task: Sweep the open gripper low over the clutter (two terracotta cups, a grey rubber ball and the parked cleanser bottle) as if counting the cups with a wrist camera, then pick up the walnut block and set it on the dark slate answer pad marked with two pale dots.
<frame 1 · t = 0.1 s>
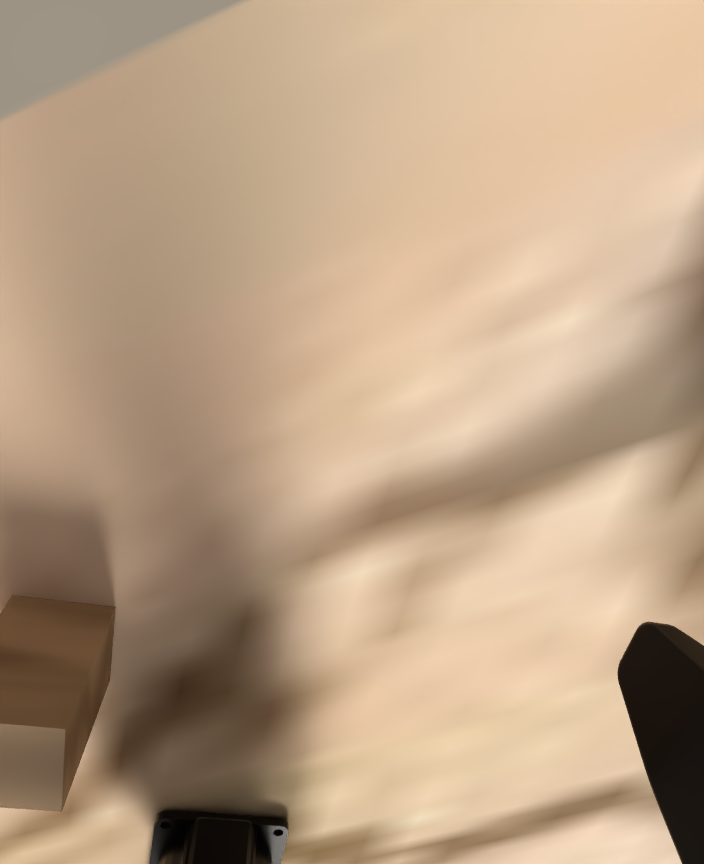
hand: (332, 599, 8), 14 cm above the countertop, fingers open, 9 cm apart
walnut block: (63, 639, 26), on the countertop
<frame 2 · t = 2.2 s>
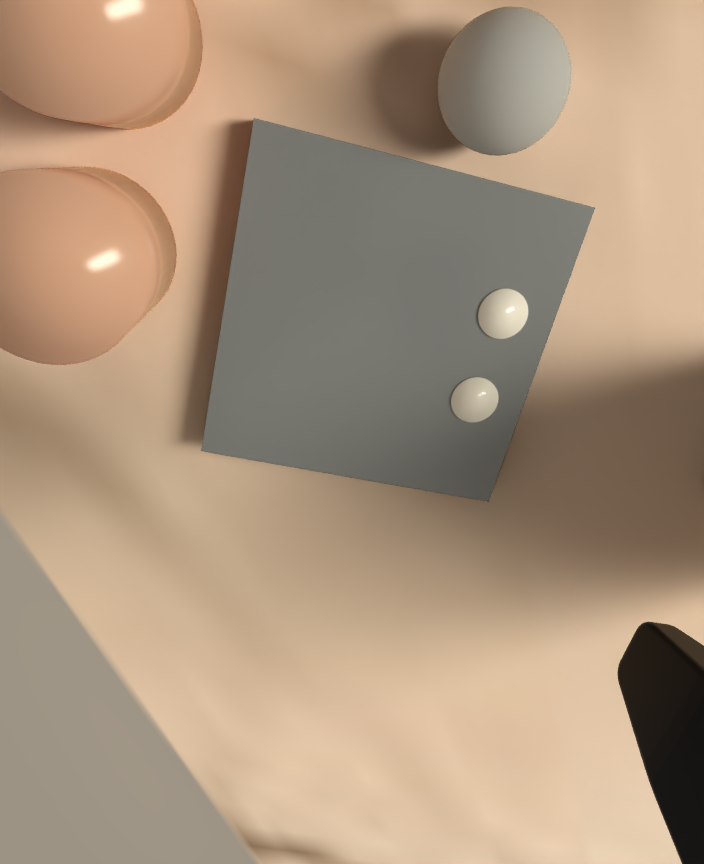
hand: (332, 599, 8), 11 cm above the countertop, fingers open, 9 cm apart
cup a: (117, 36, 15), on the countertop
grey ball: (485, 91, 16), on the countertop
answer pad: (383, 329, 18), on the countertop
cup b: (100, 248, 17), on the countertop
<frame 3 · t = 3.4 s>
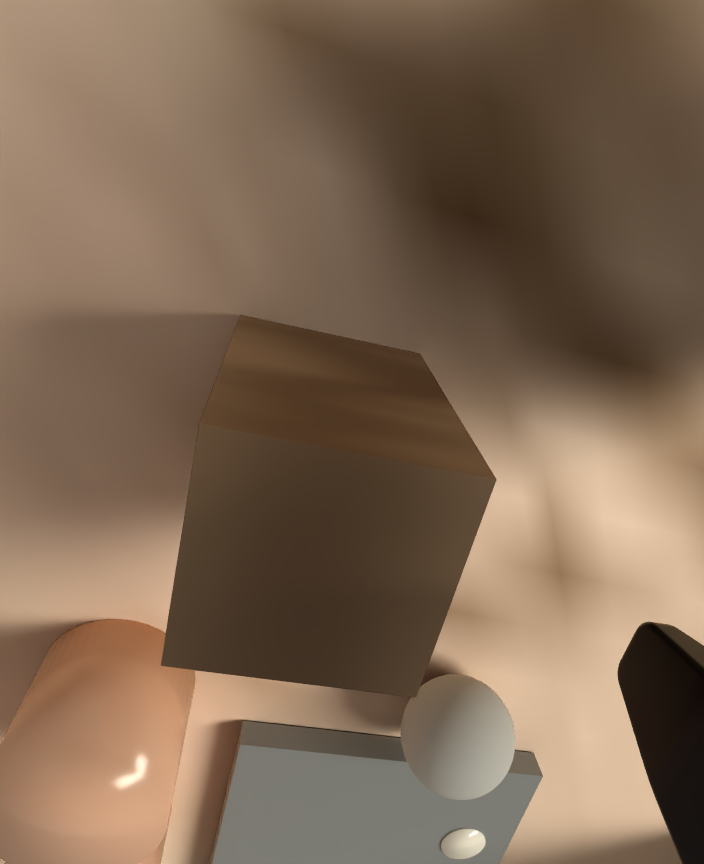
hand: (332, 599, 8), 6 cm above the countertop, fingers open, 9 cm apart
cup a: (120, 677, 17), on the countertop
grey ball: (445, 690, 18), on the countertop
walnut block: (312, 417, 14), on the countertop
answer pad: (357, 837, 20), on the countertop
cup b: (104, 802, 19), on the countertop
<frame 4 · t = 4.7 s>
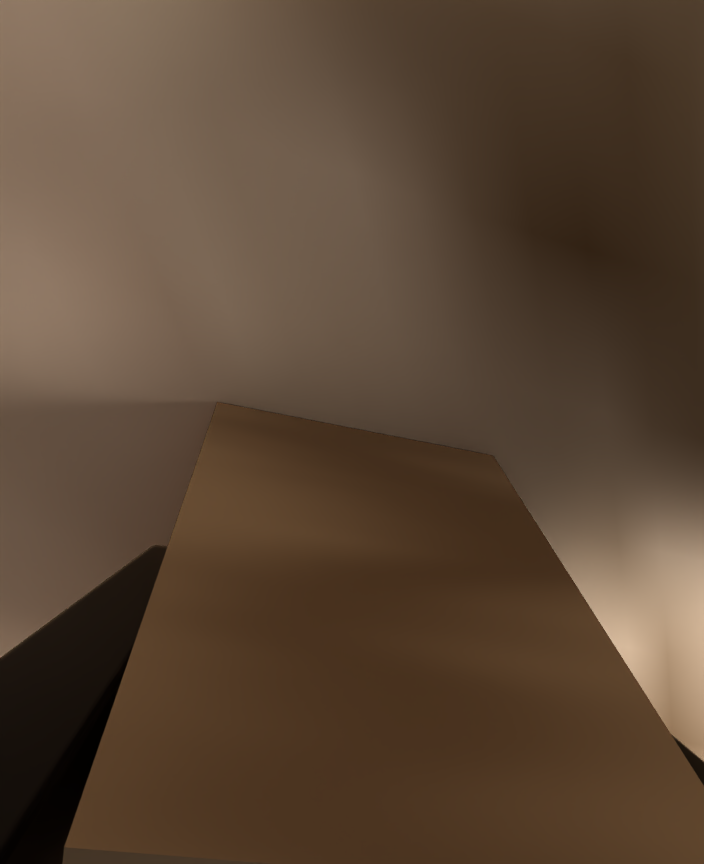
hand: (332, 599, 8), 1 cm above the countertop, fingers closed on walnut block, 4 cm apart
walnut block: (328, 547, 10), on the countertop, touching gripper
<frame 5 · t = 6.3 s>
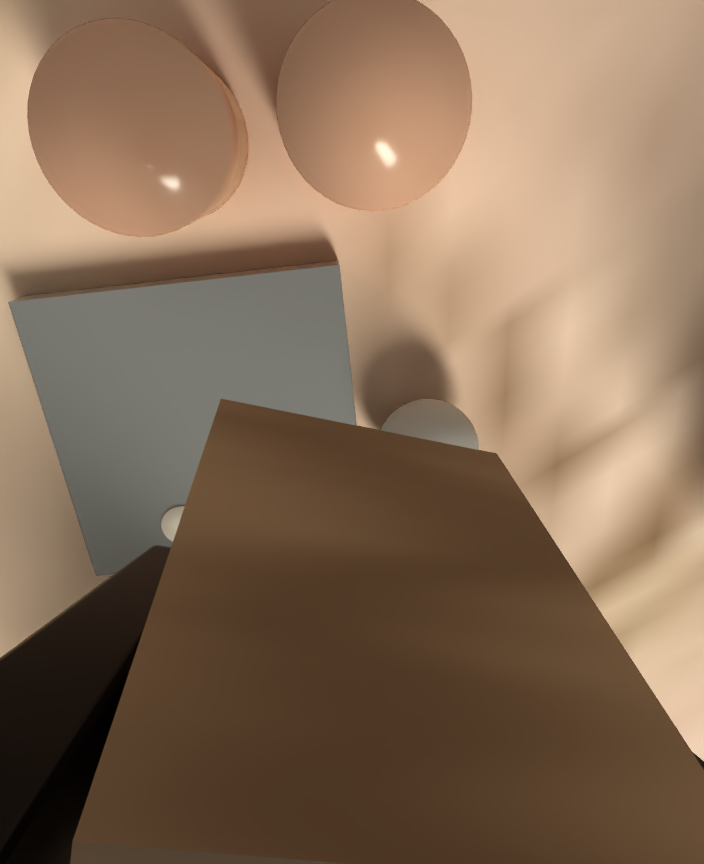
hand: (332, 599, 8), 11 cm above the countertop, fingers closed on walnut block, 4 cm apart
cup a: (361, 119, 16), on the countertop
grey ball: (419, 429, 20), on the countertop
walnut block: (331, 545, 10), point 10 cm above the countertop, touching gripper
answer pad: (210, 424, 20), on the countertop
cup b: (171, 140, 16), on the countertop
when the fingers open (3 cm above the countertop, at t = 8.3 s): walnut block drops 1 cm, resting on answer pad.
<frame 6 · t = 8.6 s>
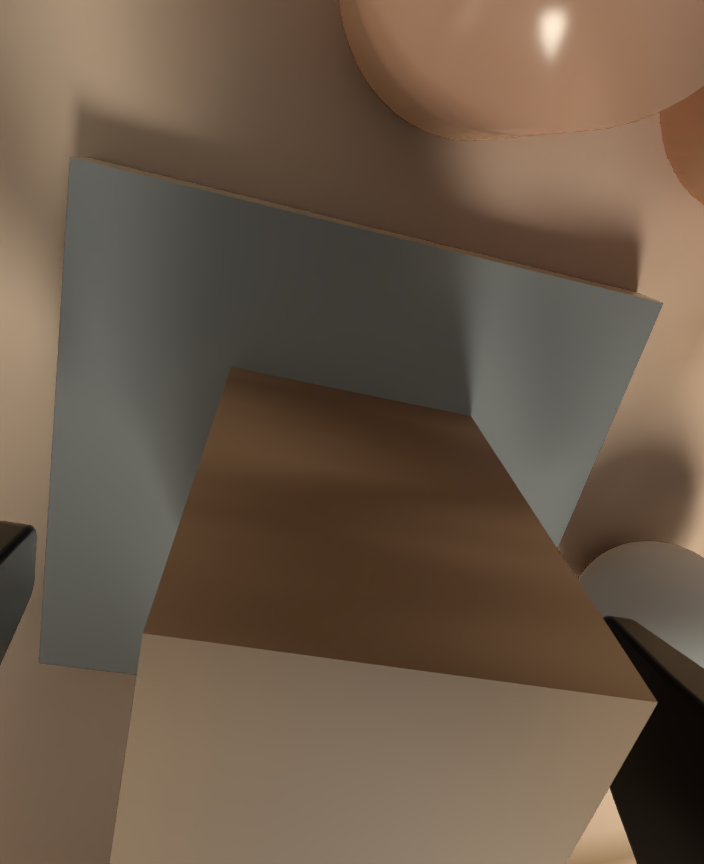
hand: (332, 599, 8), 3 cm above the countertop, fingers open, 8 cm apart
grey ball: (617, 573, 13), on the countertop
walnut block: (327, 498, 11), point 1 cm above the countertop, touching answer pad
answer pad: (321, 477, 12), on the countertop
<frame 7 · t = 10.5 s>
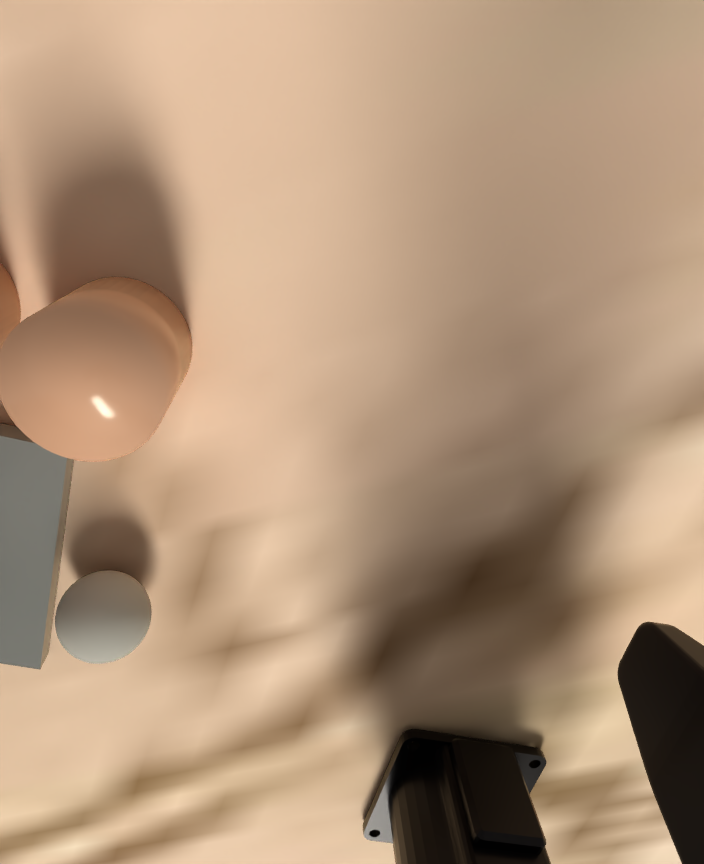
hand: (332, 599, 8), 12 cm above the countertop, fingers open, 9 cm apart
cup a: (124, 343, 19), on the countertop
grey ball: (116, 588, 22), on the countertop
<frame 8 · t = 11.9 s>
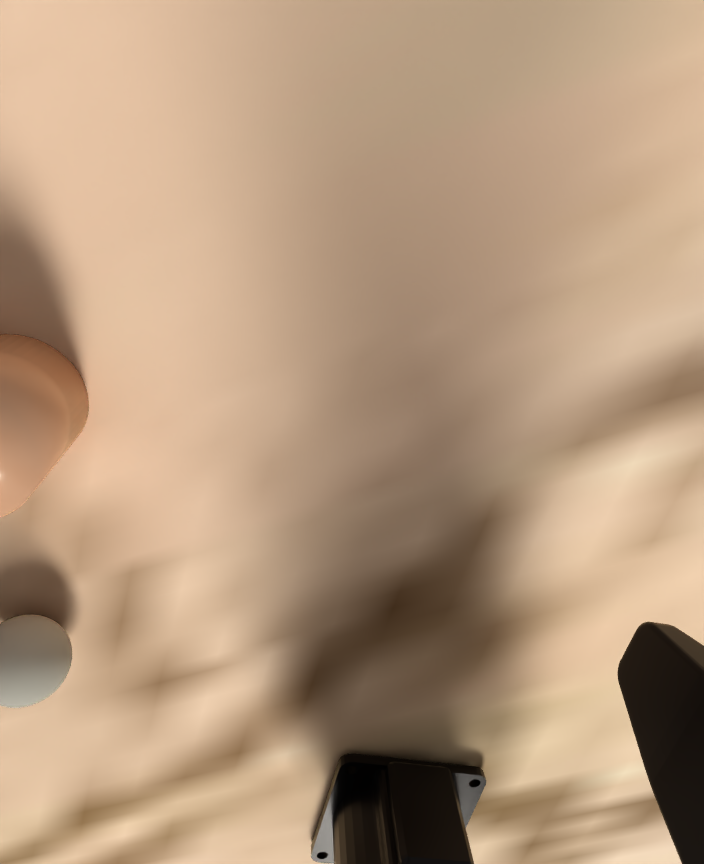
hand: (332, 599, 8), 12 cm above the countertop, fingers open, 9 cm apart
cup a: (21, 397, 19), on the countertop
grey ball: (40, 629, 23), on the countertop
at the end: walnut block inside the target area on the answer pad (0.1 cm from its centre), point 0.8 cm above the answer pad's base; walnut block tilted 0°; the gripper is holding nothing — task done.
